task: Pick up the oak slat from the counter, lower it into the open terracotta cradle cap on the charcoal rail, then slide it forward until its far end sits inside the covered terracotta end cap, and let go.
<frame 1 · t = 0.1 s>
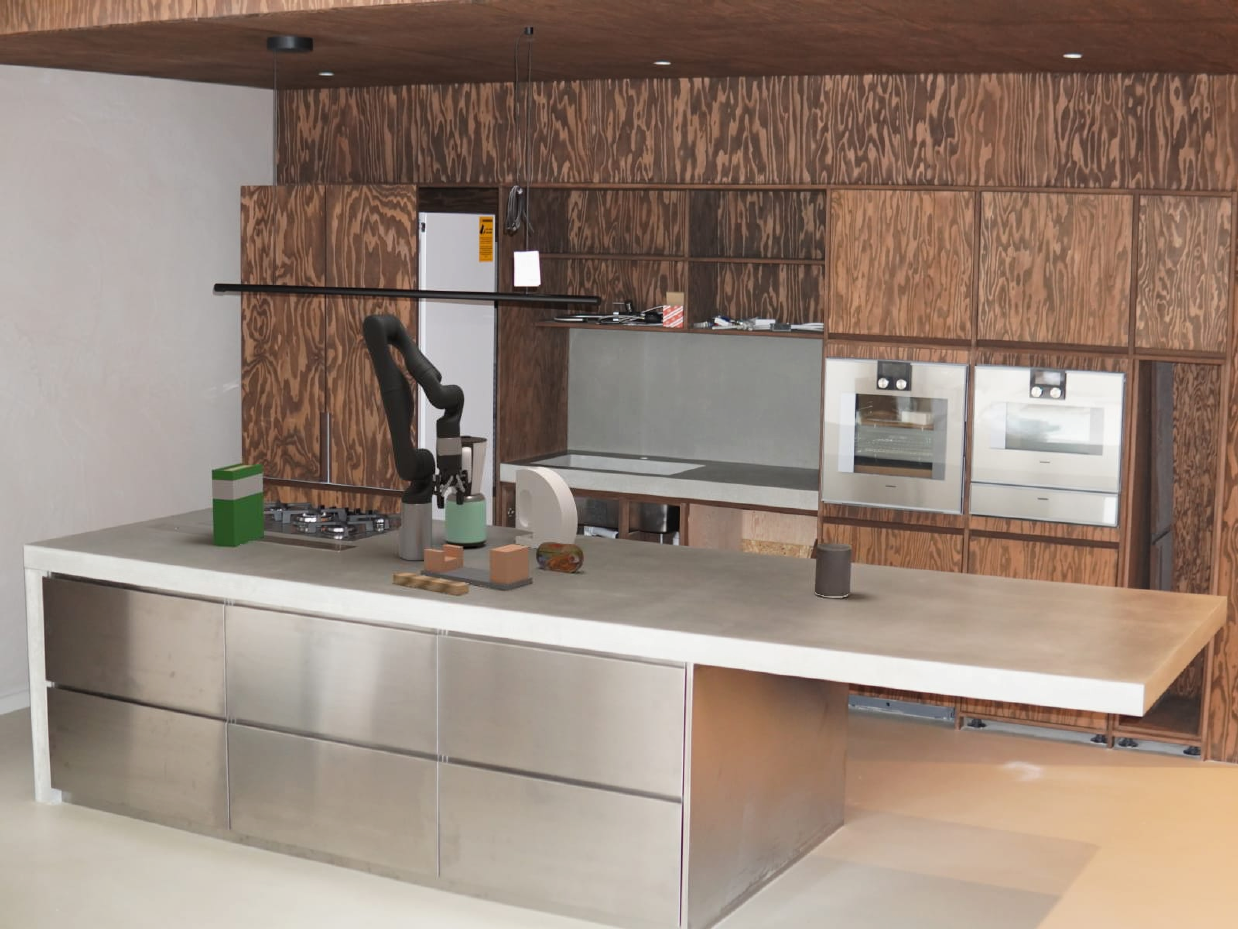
hand: (450, 506, 418), 17 cm above the worktop, tool pointing down, fingers open, 8 cm apart
tin: (560, 571, 413), on the worktop
hardback book: (239, 542, 450), on the worktop
bracket: (546, 548, 446), on the worktop
blender: (465, 546, 447), on the worktop
slat: (430, 589, 389), on the worktop
pillar candle: (832, 595, 387), on the worktop
end cap rail: (476, 579, 400), on the worktop
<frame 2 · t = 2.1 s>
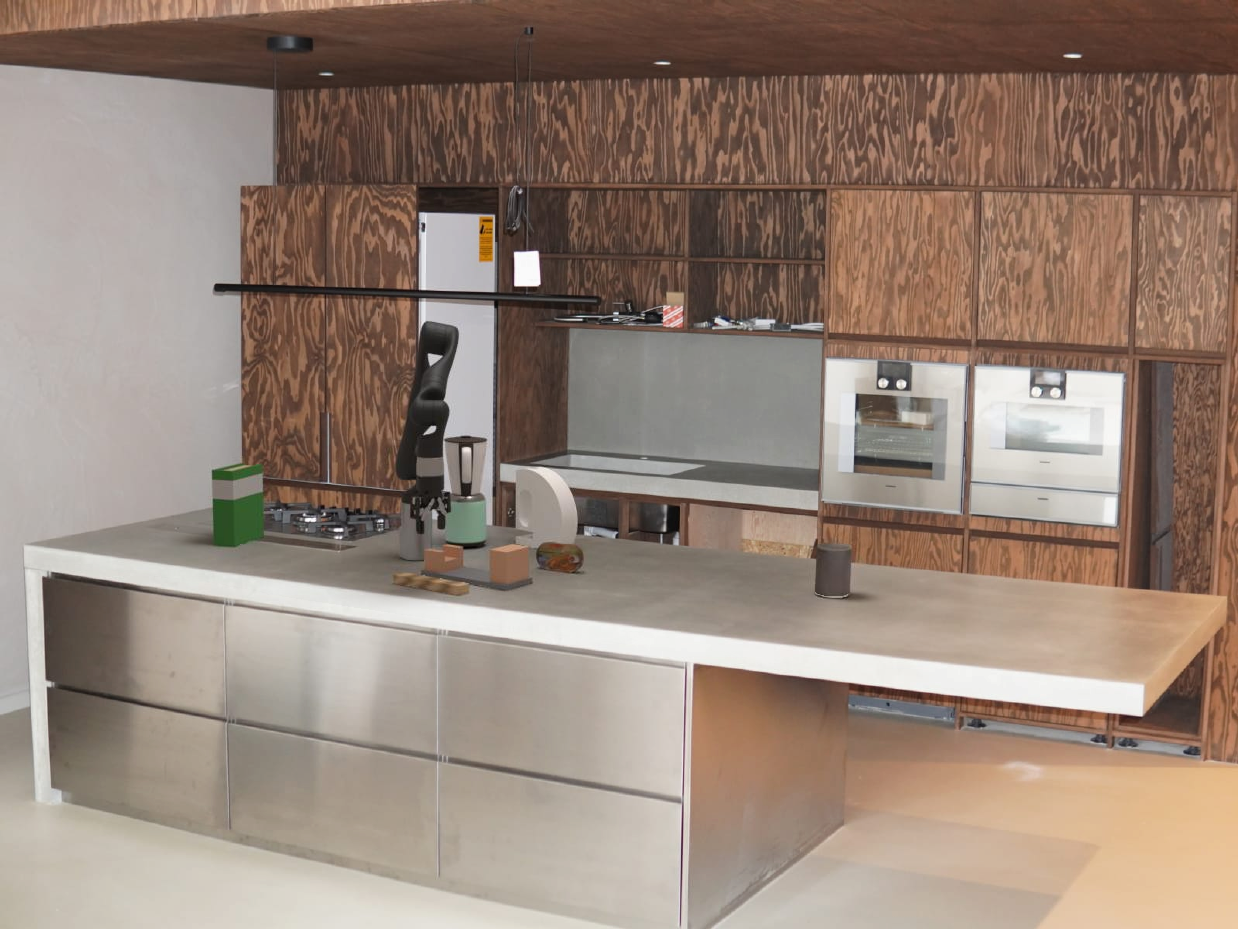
hand: (430, 531, 386), 16 cm above the worktop, tool pointing down, fingers open, 8 cm apart
nothing on the worktop moved.
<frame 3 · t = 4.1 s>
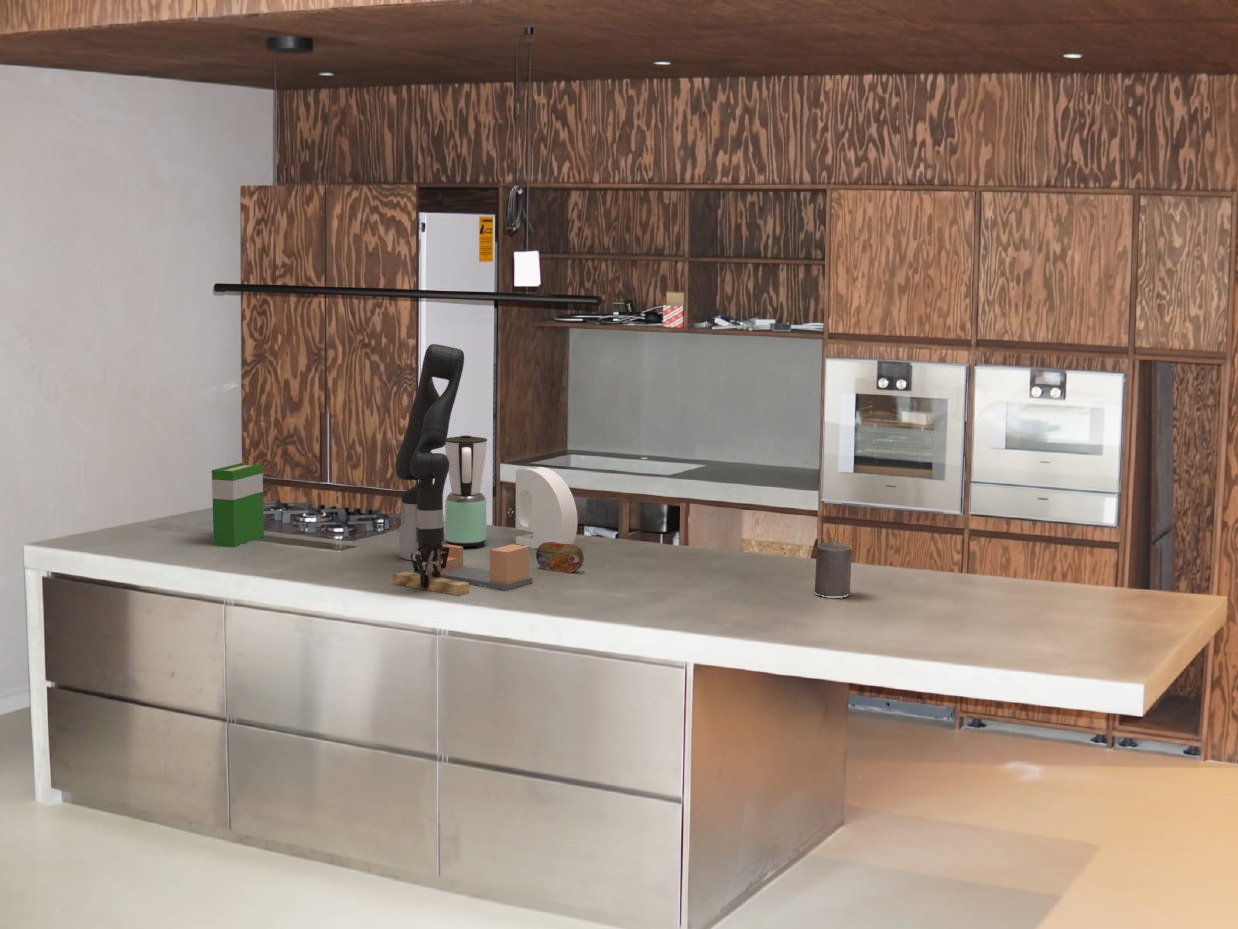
hand: (430, 586, 388), 1 cm above the worktop, tool pointing down, fingers closed on slat, 4 cm apart
slat: (430, 588, 388), on the worktop, touching gripper
everything else where it was.
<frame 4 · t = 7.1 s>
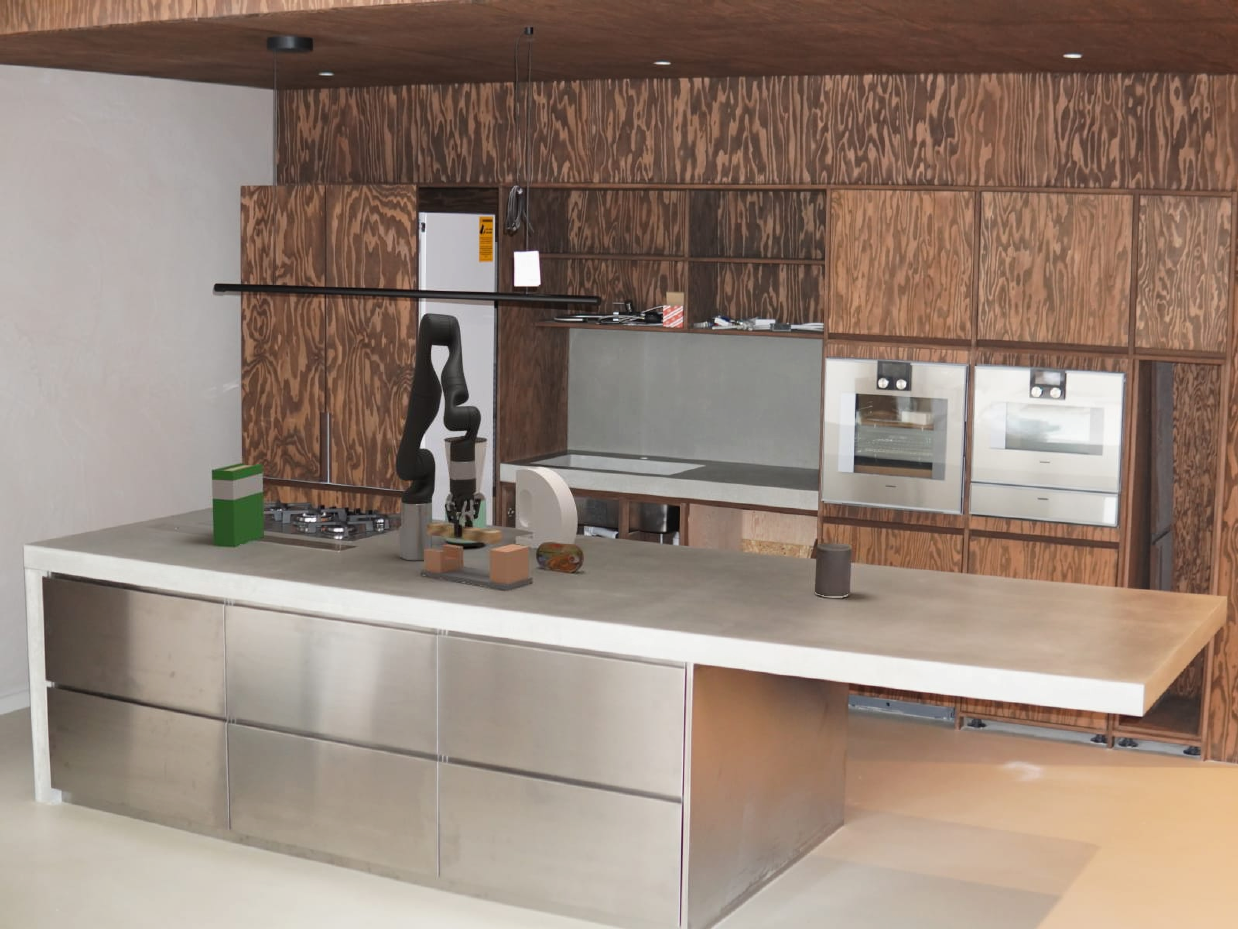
hand: (463, 535, 401), 12 cm above the worktop, tool pointing down, fingers closed on slat, 4 cm apart
slat: (464, 538, 401), point 11 cm above the worktop, touching gripper
everything else where it was.
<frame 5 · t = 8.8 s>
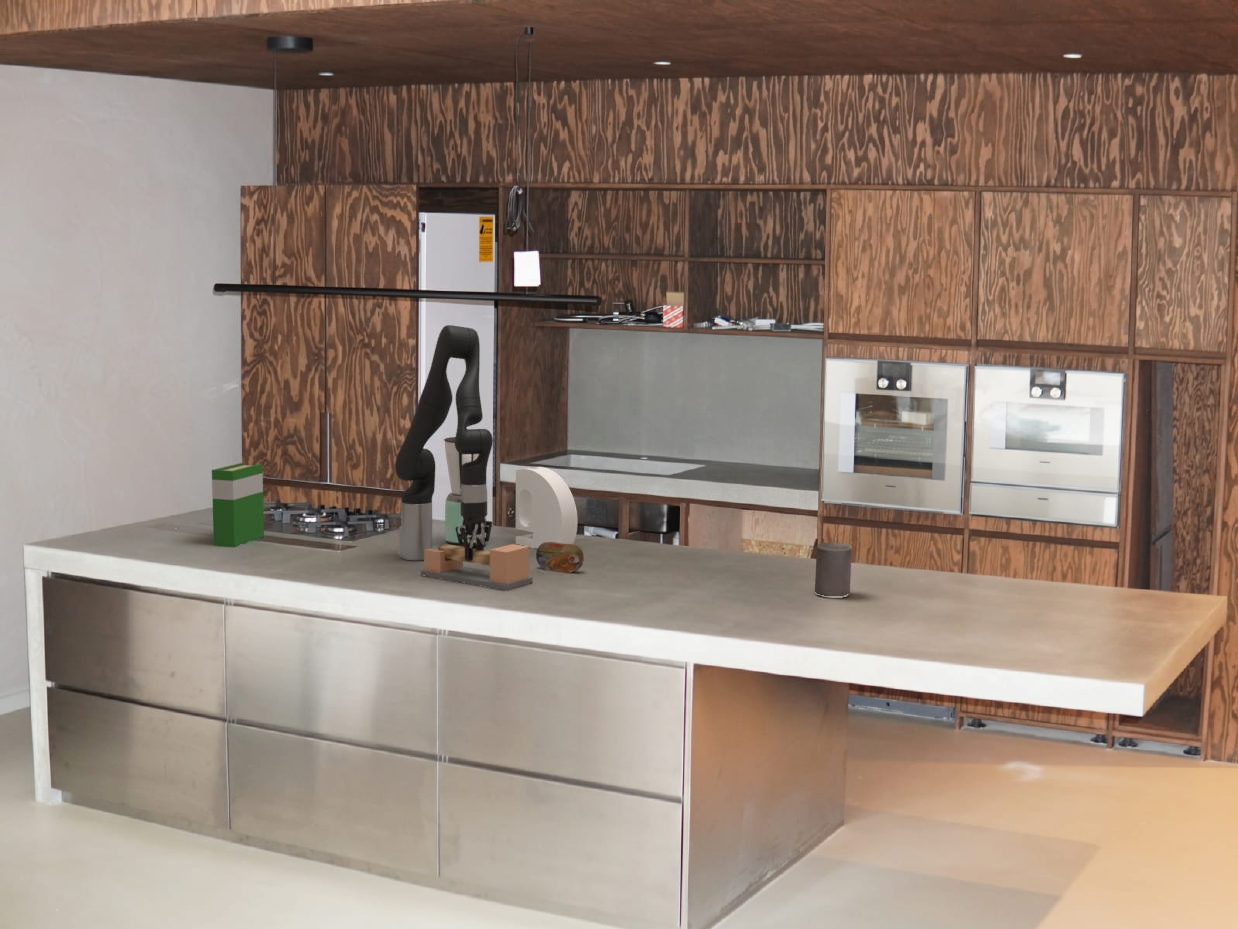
hand: (474, 558, 400), 6 cm above the worktop, tool pointing down, fingers closed on slat, 4 cm apart
slat: (474, 561, 400), point 5 cm above the worktop, touching gripper
everything else where it was.
when the fingers open (6 cm above the worktop, at t = 10.2 s): slat stays where it is, resting on end cap rail.
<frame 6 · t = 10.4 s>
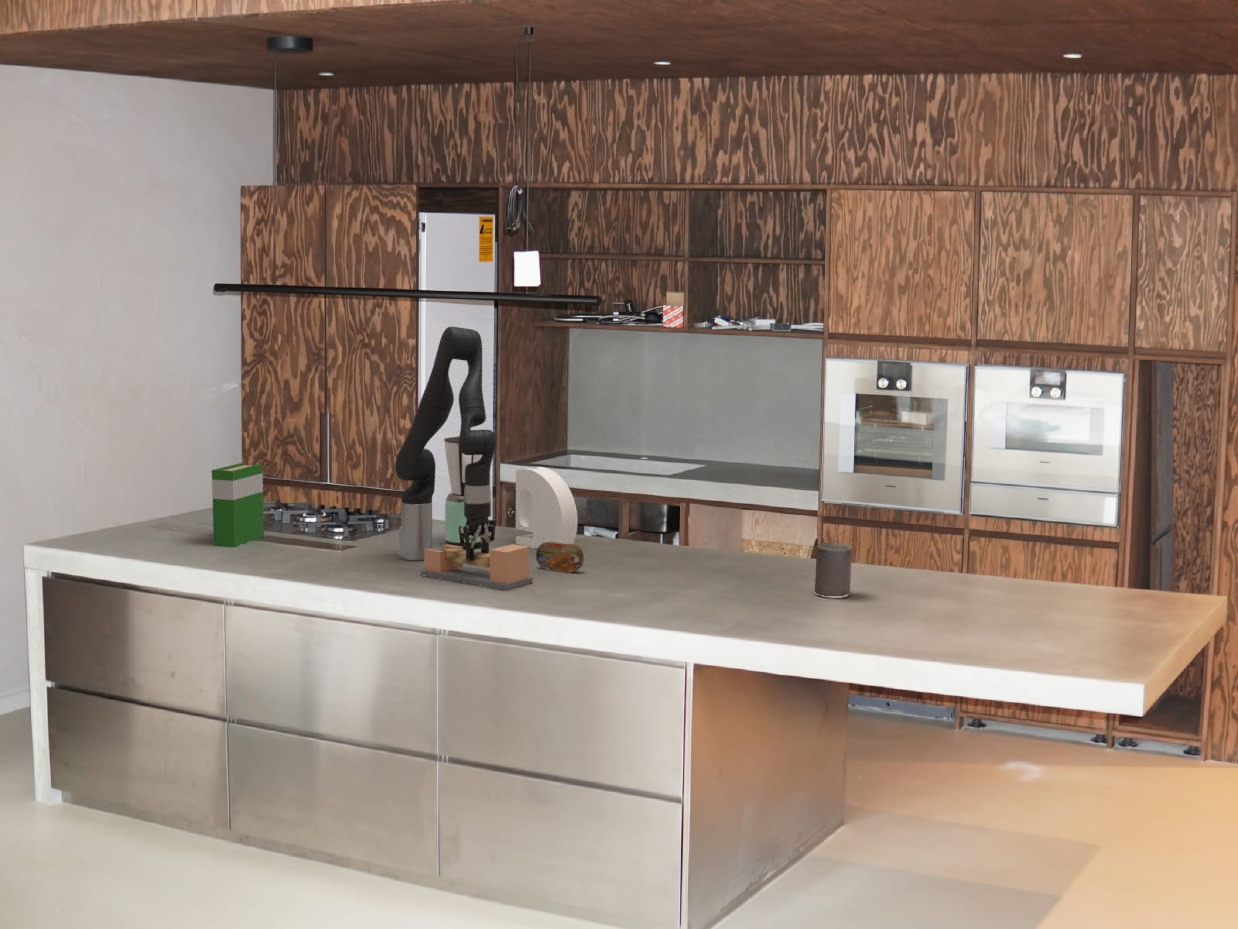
hand: (477, 558, 399), 6 cm above the worktop, tool pointing down, fingers open, 6 cm apart
slat: (477, 564, 399), point 4 cm above the worktop, touching end cap rail
everything else where it was.
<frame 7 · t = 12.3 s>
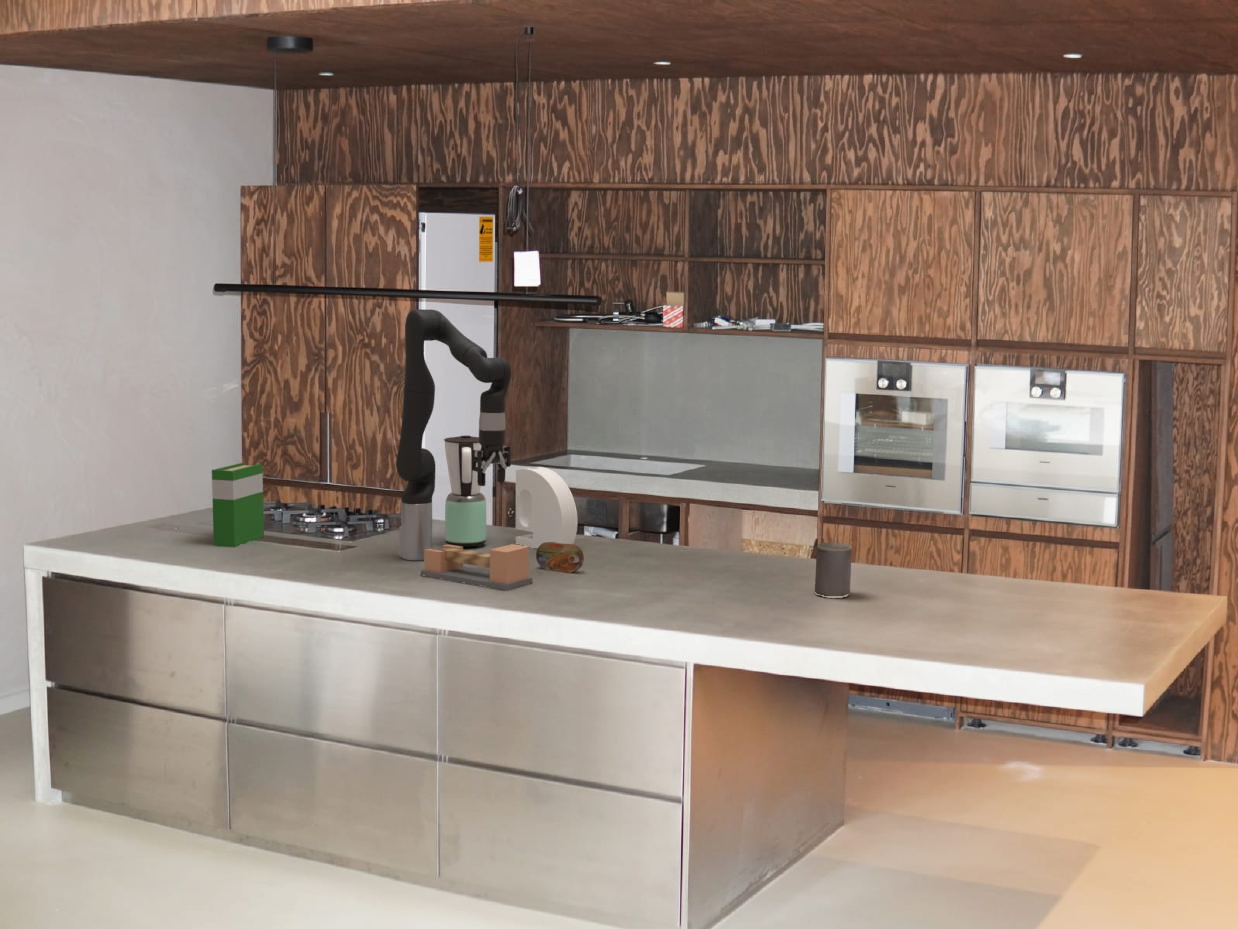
hand: (491, 484, 403), 26 cm above the worktop, tool pointing down, fingers open, 8 cm apart
nothing on the worktop moved.
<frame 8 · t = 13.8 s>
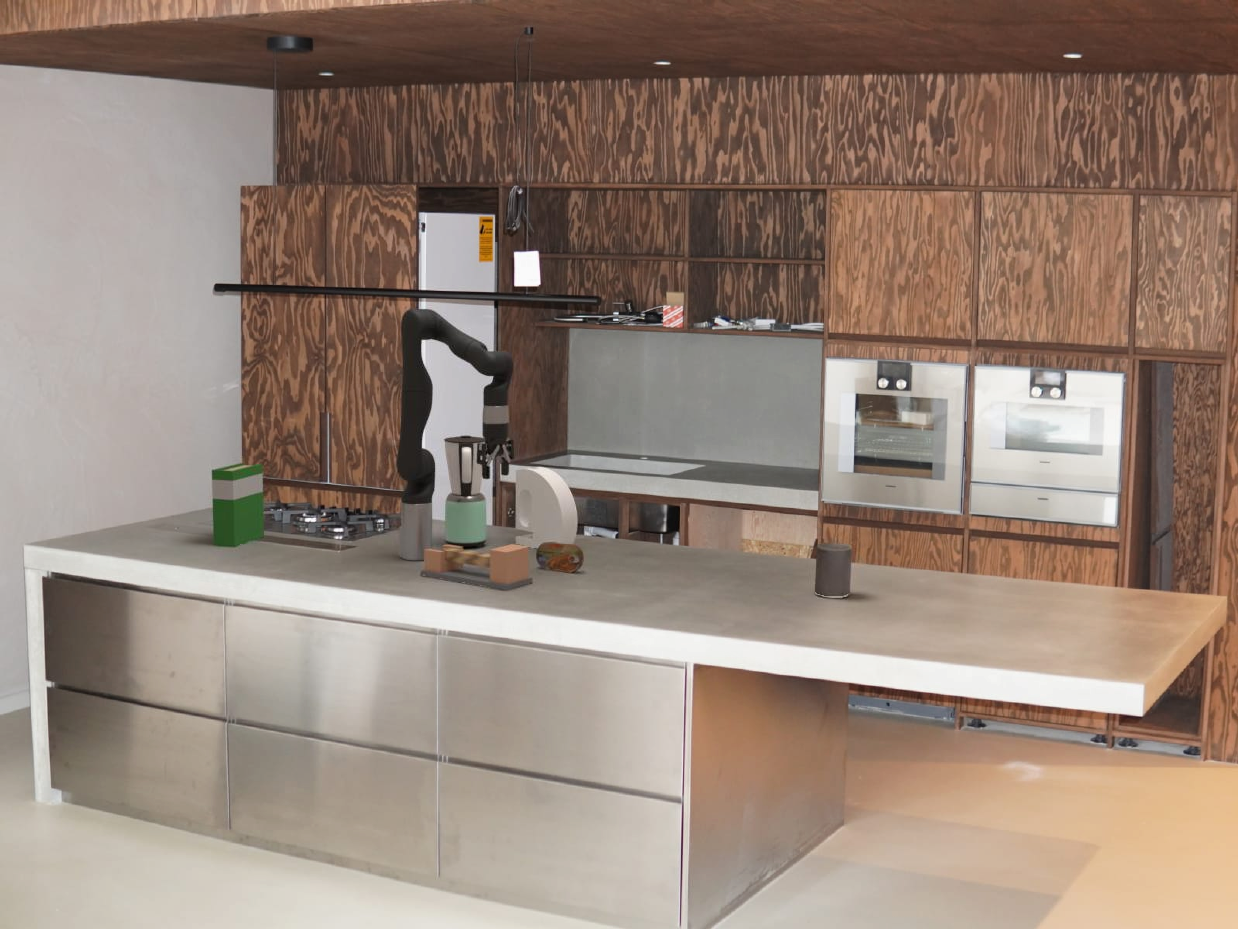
hand: (495, 477, 405), 28 cm above the worktop, tool pointing down, fingers open, 8 cm apart
nothing on the worktop moved.
at the end: slat 0.1 cm off-centre on the end cap rail, point 4.5 cm above the end cap rail's base; slat tilted 0°; the gripper is holding nothing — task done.
